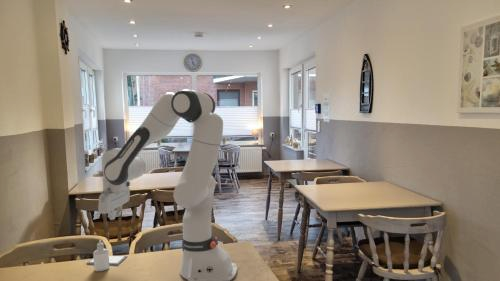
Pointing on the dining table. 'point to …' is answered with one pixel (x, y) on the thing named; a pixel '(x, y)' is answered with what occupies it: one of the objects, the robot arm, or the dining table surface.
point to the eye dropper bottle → (101, 258)
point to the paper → (113, 259)
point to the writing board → (110, 263)
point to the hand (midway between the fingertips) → (115, 217)
